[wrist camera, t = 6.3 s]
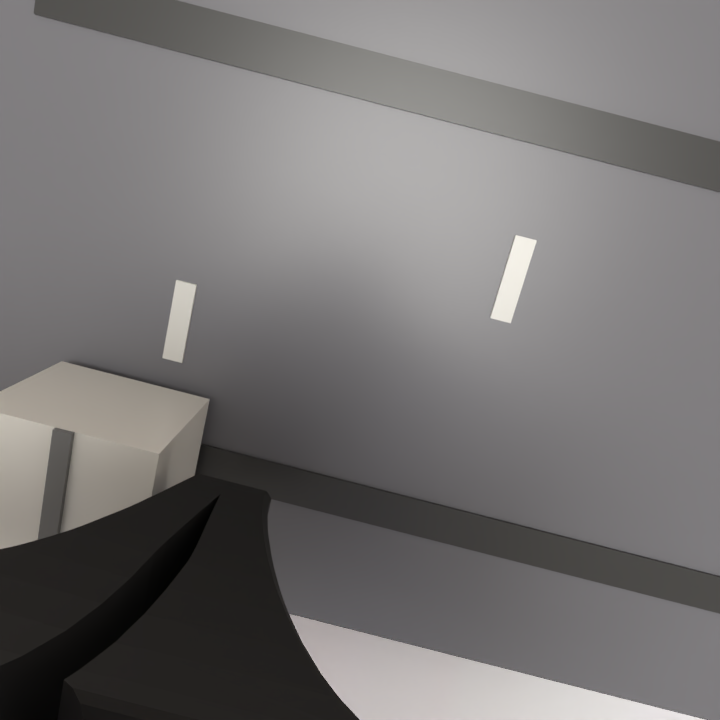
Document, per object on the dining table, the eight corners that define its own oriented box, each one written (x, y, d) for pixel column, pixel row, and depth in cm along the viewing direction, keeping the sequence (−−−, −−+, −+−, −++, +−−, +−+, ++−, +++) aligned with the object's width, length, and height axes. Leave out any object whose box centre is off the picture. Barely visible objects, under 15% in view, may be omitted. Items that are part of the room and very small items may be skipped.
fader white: (182, 531, 14) (126, 619, 11) (43, 495, 14) (-50, 574, 11) (209, 399, 13) (156, 456, 10) (61, 361, 13) (-34, 408, 10)
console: (898, 727, 16) (951, 783, 14) (-145, 461, 16) (-203, 489, 14) (1232, 137, 12) (1349, 129, 11) (-109, -213, 12) (-181, -272, 11)
